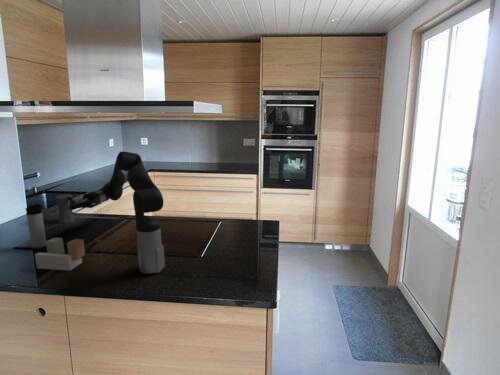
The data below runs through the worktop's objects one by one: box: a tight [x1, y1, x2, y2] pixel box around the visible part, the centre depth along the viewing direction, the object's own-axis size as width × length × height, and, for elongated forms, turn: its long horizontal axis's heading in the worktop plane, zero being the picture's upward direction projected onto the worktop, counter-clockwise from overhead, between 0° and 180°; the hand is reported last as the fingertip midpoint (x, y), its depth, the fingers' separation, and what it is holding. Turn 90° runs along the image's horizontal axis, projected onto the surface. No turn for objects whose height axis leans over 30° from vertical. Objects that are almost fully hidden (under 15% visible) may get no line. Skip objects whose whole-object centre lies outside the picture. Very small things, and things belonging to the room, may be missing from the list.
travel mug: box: [25, 203, 47, 250], centre depth 161 cm, size 6×7×20 cm
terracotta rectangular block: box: [66, 238, 86, 259], centre depth 145 cm, size 4×5×7 cm
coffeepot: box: [54, 191, 76, 224], centre depth 199 cm, size 15×9×18 cm, turn 55°
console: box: [34, 252, 83, 272], centre depth 142 cm, size 15×8×6 cm, turn 80°
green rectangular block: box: [45, 237, 65, 254], centre depth 147 cm, size 4×5×7 cm
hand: (71, 207), depth 156 cm, fingers closed
